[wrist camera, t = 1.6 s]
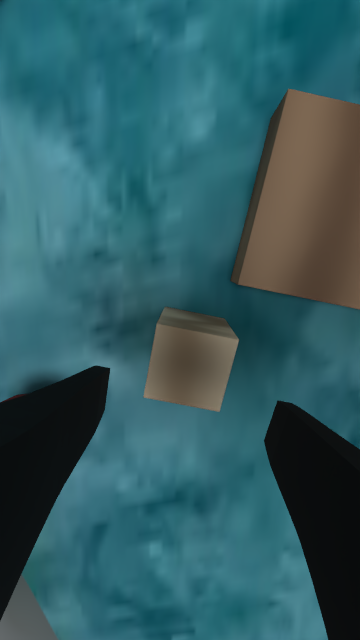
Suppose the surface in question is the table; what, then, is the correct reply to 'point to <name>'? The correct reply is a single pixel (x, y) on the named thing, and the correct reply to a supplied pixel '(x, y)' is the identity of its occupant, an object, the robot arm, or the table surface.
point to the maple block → (190, 359)
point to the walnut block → (306, 204)
